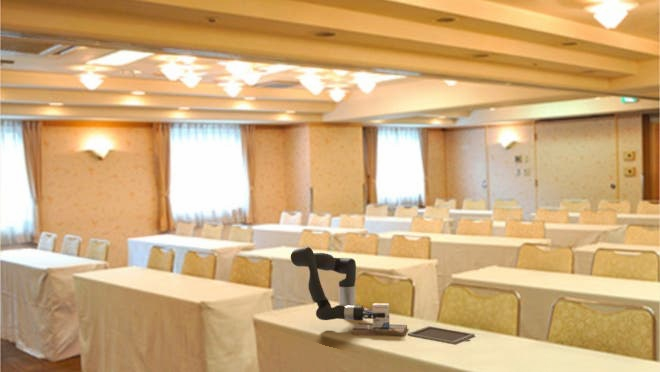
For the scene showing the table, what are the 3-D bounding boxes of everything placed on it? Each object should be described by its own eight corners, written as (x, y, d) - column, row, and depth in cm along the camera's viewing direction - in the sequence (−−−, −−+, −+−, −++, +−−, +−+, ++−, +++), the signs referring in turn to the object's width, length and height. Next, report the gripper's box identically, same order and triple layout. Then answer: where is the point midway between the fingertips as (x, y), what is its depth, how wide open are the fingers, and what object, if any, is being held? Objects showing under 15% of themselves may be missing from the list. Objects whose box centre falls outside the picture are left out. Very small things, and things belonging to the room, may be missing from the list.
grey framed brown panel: (428, 325, 347) (479, 334, 327) (428, 329, 347) (479, 338, 327) (407, 333, 333) (459, 343, 313) (407, 336, 333) (459, 346, 313)
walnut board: (358, 326, 353) (358, 322, 353) (407, 328, 346) (406, 324, 346) (351, 334, 338) (351, 330, 338) (402, 336, 331) (402, 332, 331)
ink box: (389, 325, 344) (389, 303, 343) (389, 327, 339) (389, 305, 338) (373, 325, 344) (372, 302, 344) (372, 327, 340) (372, 304, 339)
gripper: (350, 308, 338) (383, 309, 334) (357, 302, 352) (388, 304, 348) (351, 323, 338) (383, 324, 334) (357, 316, 352) (388, 318, 348)
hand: (385, 314), depth 341 cm, fingers closed on ink box, 5 cm apart
